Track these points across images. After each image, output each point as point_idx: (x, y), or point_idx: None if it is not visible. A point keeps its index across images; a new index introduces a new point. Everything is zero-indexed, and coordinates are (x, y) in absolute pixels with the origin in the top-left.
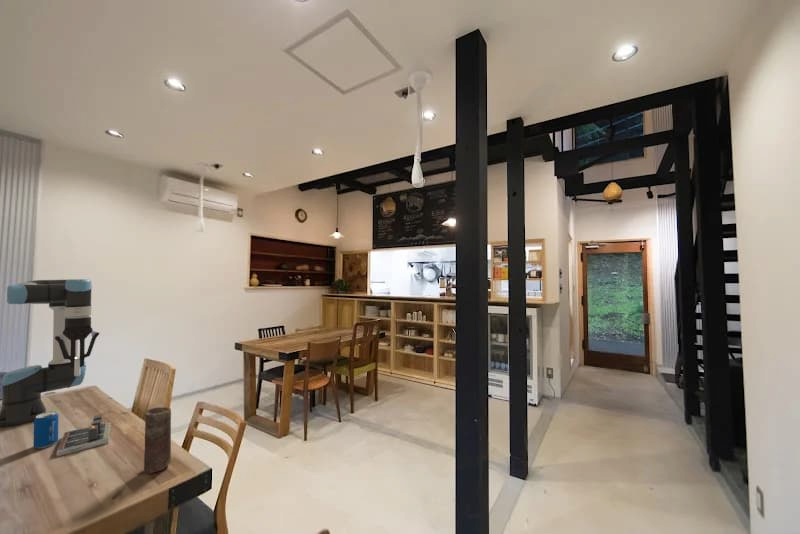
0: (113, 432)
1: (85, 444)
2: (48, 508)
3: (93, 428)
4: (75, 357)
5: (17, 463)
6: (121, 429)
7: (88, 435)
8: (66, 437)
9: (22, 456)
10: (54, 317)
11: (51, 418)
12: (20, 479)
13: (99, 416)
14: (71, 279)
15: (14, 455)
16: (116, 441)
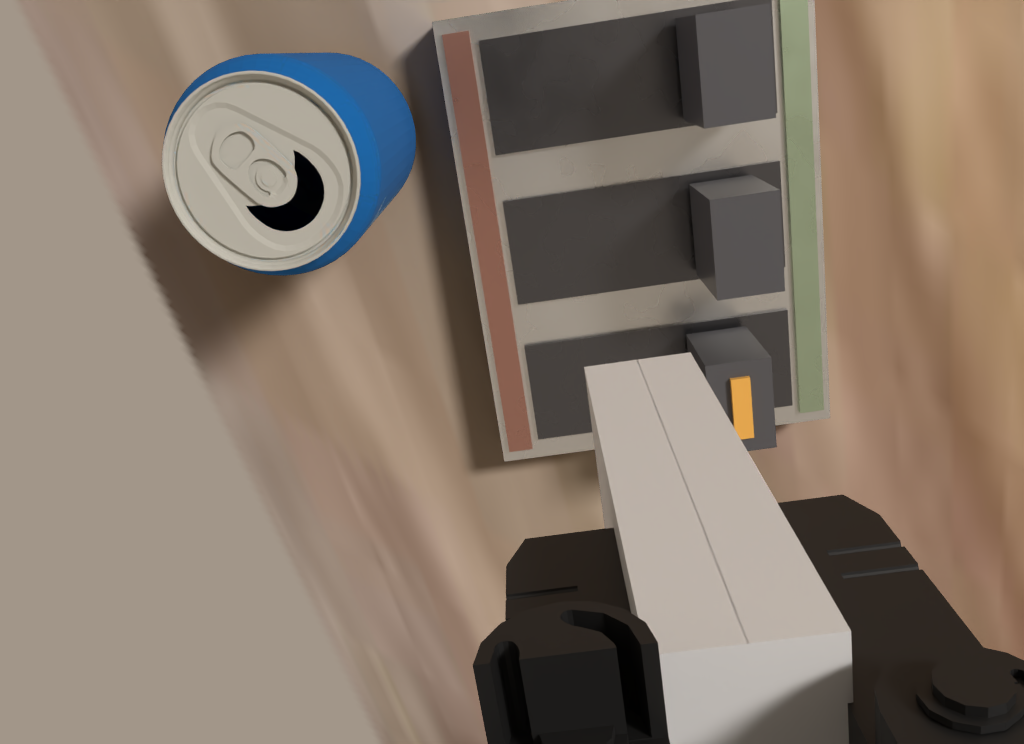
0: (833, 163)
1: None
2: None
3: (747, 436)
4: (662, 720)
5: (274, 407)
6: (895, 124)
7: None
8: (492, 200)
9: (250, 289)
10: None
11: (345, 248)
12: (403, 663)
13: (753, 76)
14: None
15: (176, 229)
16: (869, 398)
